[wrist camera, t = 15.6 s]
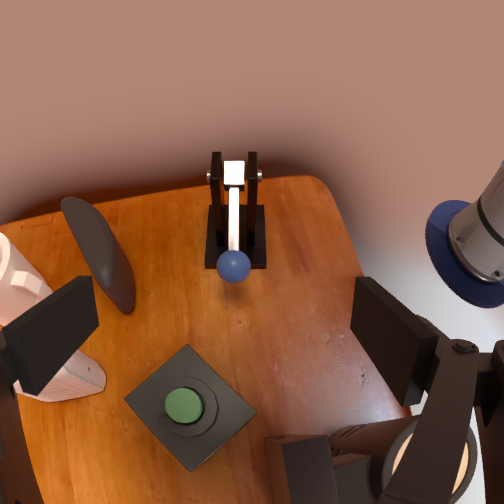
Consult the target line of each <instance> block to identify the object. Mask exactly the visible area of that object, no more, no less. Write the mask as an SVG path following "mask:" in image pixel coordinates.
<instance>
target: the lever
mask: <svg viewBox="0 0 504 504" xmlns="http://www.w3.org/2000/svg"><path fill="white" fill-rule="evenodd" d="M224 189H225V191H229V226H228V251H226V252H224V253H223V254H222V255H221V256H220V257H219V259H218V261H217V272H218V275H219V276H220V278H221V279H222V280H224V281H225V282H227V283H231V284H237V283H240V282H242V281H244V280H245V279H246V278H247V277H248V275H249V273H250V269H251V264H250V260H249V258H248V257H247V256H246V254H244V253H243V252H241V251H239V191H244V161H224Z"/></svg>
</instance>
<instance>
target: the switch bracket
mask: <svg viewBox="0 0 504 504" xmlns="http://www.w3.org/2000/svg"><path fill="white" fill-rule="evenodd" d="M207 182H208V183H210V189H211V198H212V205H209V214H208V226H207V239H206V252H205V268H212V269H217V261H218V259H219V257H220V256H221V255H222V254H223V253H224V252H226V251H228V226H229V205H225V204H224V189H223V175H222V159H221V152H212V160H211V169H210V170H208V171H207ZM261 182H262V171H261V170H258V165H257V152H248V186H247V205H239V251H241V252H243V253H244V254H246V256H247V257H248V258H249V260H250V264H251V269H266V264H267V263H266V239H265V216H264V205H257V188H258V183H261Z"/></svg>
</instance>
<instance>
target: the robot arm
mask: <svg viewBox="0 0 504 504" xmlns="http://www.w3.org/2000/svg"><path fill="white" fill-rule="evenodd" d="M458 211H459V212H457V211H456V212H457V213H456V214H455V215H454V216H453V218H452V219H451V220H450V222H449V223H448V226H447V230H446V239H447V244H448V248H449V250H450V253H451V255H452V257H453V259H454V260H455V262H456V263H457V265H458V266H459V267H460V268H461V270H462V271H463V272H464V273H465V274H466V275H468V276H469V277H470V278H471V279H473V280H475V281H476V282H478V283H481V284H484V285H494V284H497V283H498V282H500V281H501V280H502V279H503V278H504V160H503V161H502V165H501V167H500V168H499V170H498V171H497V173H496V175H495V176H494V177H493V179H492V180H491V182H490V183H489V185H488V186H487V188H486V189H485V190H484V192H483V193H482V195H481V196H480V197H479V199H478V200H477V201H475V202H474V203H472V204H470V205H469V206H467V207H465V208H463V209H461V211H460V210H458ZM454 213H455V212H454ZM98 326H99V321H98V315H97V309H96V303H95V296H94V289H93V282H92V276H81V275H79V276H78V277H76V278H75V279H73V280H72V281H70V282H68V283H67V284H65V285H64V286H62V287H61V288H59V289H58V290H56V291H55V292H53V293H52V294H50V295H49V296H47V297H46V298H44V299H43V300H42V301H40V302H39V303H37V304H36V305H34V306H33V307H31V308H30V309H28V310H27V311H26V312H24V313H23V314H21V315H20V316H19V317H17V318H16V319H14V320H13V321H11V322H10V323H9V324H7V325H6V326H5V327H3V328H2V330H1V331H0V504H44V502H43V499H42V496H41V493H40V490H39V487H38V484H37V481H36V478H35V474H34V471H33V468H32V464H31V460H30V457H29V453H28V449H27V445H26V441H25V436H24V432H23V427H22V422H21V417H20V412H19V406H18V400H17V393H16V391H15V388H14V385H13V384H14V383H15V382H16V381H17V380H18V381H19V383H20V386H21V389H22V391H23V393H27V394H30V395H34V396H38V395H39V394H40V393H41V391H42V390H43V389H44V388H45V387H46V385H47V384H48V383H49V382H50V381H51V380H52V378H53V377H54V376H55V375H56V374H57V373H58V371H59V370H60V369H61V368H62V367H63V366H64V364H65V363H66V362H67V361H68V360H69V359H70V358H71V356H72V355H73V354H74V353H75V352H76V351H77V350H78V348H79V347H80V346H81V345H82V344H83V343H84V342H85V341H86V340H87V338H88V337H89V336H90V335H91V334H92V333H93V332H94V331H95V330H96V328H97V327H98ZM350 329H351V330H352V332H353V333H354V335H355V336H356V338H357V339H358V341H359V342H360V344H361V345H362V347H363V348H364V350H365V351H366V353H367V354H368V356H369V357H370V359H371V360H372V362H373V363H374V365H375V366H376V368H377V370H378V371H379V373H380V374H381V376H382V377H383V379H384V380H385V382H386V383H387V385H388V387H389V388H390V390H391V391H392V393H393V394H394V396H395V398H396V399H397V401H398V402H399V404H400V405H401V407H405V406H411V405H415V404H419V403H420V402H421V399H422V395H423V392H424V390H425V391H426V392H427V394H428V397H427V400H426V403H425V405H424V408H423V410H422V413H421V415H420V418H419V420H418V422H417V425H416V427H415V429H414V432H413V434H412V436H411V438H410V441H409V443H408V445H407V447H406V449H405V451H404V453H403V456H402V458H401V460H400V462H399V464H398V466H397V468H396V470H395V471H394V473H393V475H392V477H391V479H390V481H389V483H388V485H387V486H386V488H385V490H384V492H383V493H382V494H381V496H380V497H379V499H378V500H377V502H376V504H449V501H450V498H451V495H452V492H453V489H454V486H455V482H456V479H457V475H458V472H459V468H460V465H461V461H462V457H463V453H464V448H465V444H466V440H467V435H468V430H469V425H470V419H471V414H472V408H473V407H474V410H475V415H476V421H477V427H478V433H479V439H480V446H481V454H482V462H483V472H484V483H485V498H486V504H504V340H500V341H497V342H496V343H495V346H494V349H493V353H479V349H478V347H477V346H476V345H475V344H473V343H472V342H470V341H466V340H462V339H452V340H451V339H449V338H448V337H447V336H446V335H445V334H444V333H442V332H441V331H440V330H438V328H437V327H435V326H434V325H433V324H432V323H431V322H430V321H428V320H427V319H425V318H423V317H421V316H419V315H415V314H414V313H412V312H411V311H410V310H409V309H408V308H407V307H406V306H404V305H403V304H402V303H401V302H400V301H399V300H397V299H396V298H395V297H394V296H393V295H391V294H390V293H389V292H388V291H387V290H386V289H384V288H383V287H382V286H381V285H380V284H378V283H377V282H376V281H375V280H373V279H372V278H371V277H356V281H355V291H354V300H353V309H352V317H351V325H350Z"/></svg>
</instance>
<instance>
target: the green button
mask: <svg viewBox="0 0 504 504" xmlns="http://www.w3.org/2000/svg"><path fill="white" fill-rule="evenodd" d="M165 409H166V412H167V414H168V415H169V416H170V417H171V418H172V419H173V420H175V421H177V422H181V423H191V422H194V421H195V420H197V419H198V418H199V417H200V415H201V413H202V410H203V404H202V401H201V399H200V397H199V396H198V395H197V394H196V393H195V392H193V391H192V390H190V389H187V388H178V389H175V390H173V391H171V392H170V393H169V394H168V396H167V398H166V401H165Z"/></svg>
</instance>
